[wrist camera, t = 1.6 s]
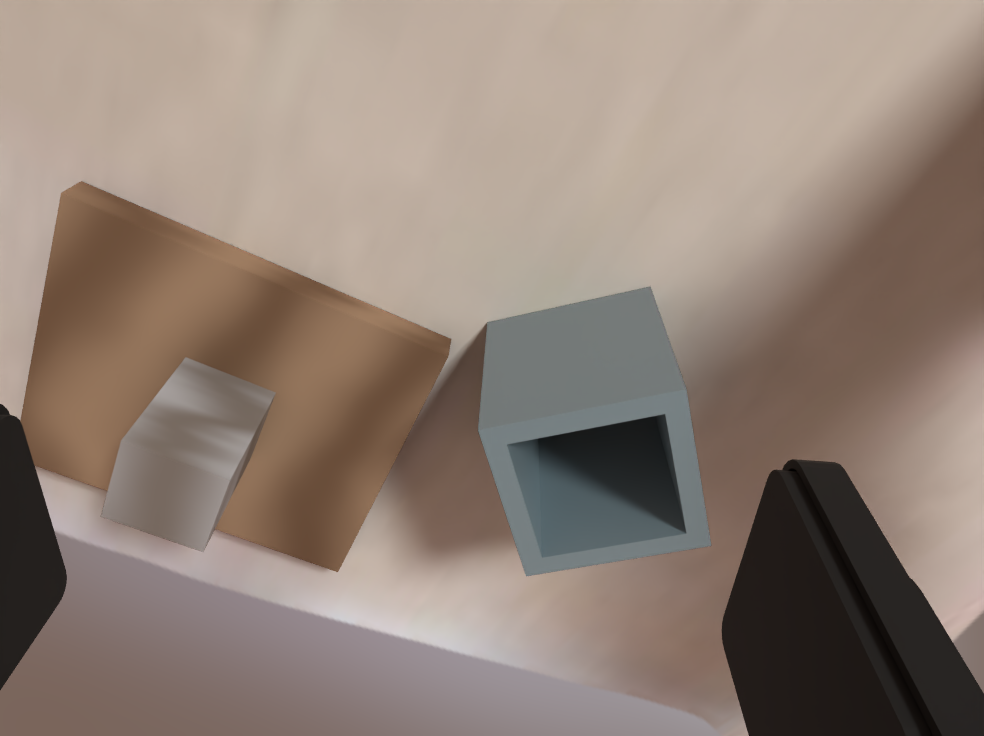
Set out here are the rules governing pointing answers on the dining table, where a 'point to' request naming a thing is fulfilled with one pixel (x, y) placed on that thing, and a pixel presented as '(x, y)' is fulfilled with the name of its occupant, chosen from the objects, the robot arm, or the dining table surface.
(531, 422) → the duct sleeve
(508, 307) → the dining table surface
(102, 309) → the base
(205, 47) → the dining table surface
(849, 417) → the dining table surface
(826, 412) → the dining table surface
